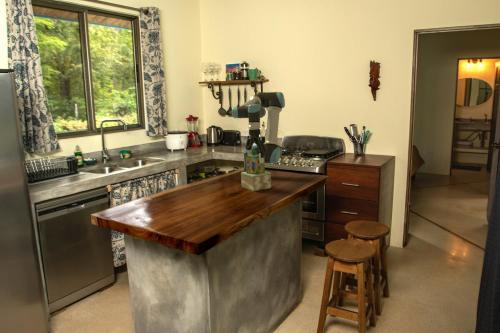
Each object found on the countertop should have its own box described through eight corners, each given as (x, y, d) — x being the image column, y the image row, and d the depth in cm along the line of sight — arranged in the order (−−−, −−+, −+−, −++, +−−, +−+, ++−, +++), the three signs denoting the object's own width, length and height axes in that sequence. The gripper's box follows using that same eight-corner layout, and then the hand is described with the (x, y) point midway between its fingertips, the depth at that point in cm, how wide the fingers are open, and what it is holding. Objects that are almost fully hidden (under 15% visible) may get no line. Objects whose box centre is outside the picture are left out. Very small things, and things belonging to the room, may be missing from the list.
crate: (258, 184, 268) (258, 171, 266) (271, 187, 256) (270, 174, 254) (241, 187, 260) (241, 174, 259) (253, 191, 249) (252, 177, 247)
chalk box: (257, 174, 250) (256, 151, 247) (245, 173, 255) (245, 150, 253) (265, 171, 258) (264, 149, 255) (253, 170, 263) (253, 148, 260)
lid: (259, 170, 266) (259, 169, 266) (271, 173, 255) (271, 172, 254) (241, 173, 258) (241, 172, 258) (252, 177, 247) (252, 175, 247)
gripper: (239, 127, 259) (240, 159, 263) (260, 130, 239) (261, 164, 243) (248, 126, 263) (249, 158, 267) (270, 129, 243) (271, 163, 247)
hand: (255, 161), depth 255 cm, fingers open, 13 cm apart
